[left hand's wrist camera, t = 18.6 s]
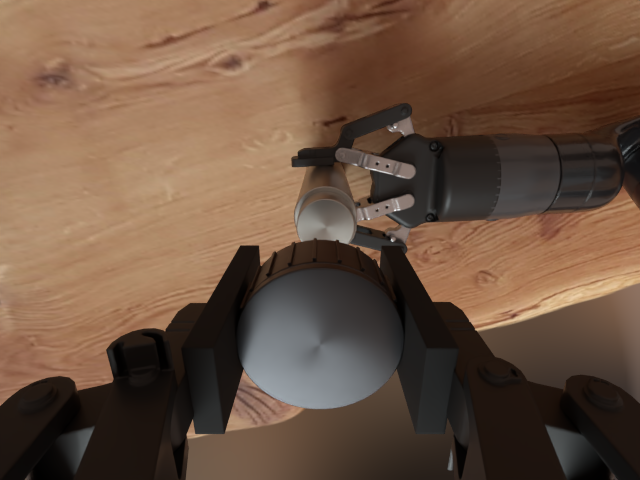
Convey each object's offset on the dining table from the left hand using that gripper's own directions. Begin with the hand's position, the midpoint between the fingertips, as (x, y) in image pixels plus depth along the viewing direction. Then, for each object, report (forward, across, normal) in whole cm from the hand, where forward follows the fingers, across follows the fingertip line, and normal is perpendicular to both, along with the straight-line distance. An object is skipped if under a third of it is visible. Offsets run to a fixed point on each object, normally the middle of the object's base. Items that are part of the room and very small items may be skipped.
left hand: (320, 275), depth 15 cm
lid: (-4, 0, 0) cm, 4 cm away
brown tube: (+25, +1, 0) cm, 25 cm away
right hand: (+18, -2, 0) cm, 18 cm away
